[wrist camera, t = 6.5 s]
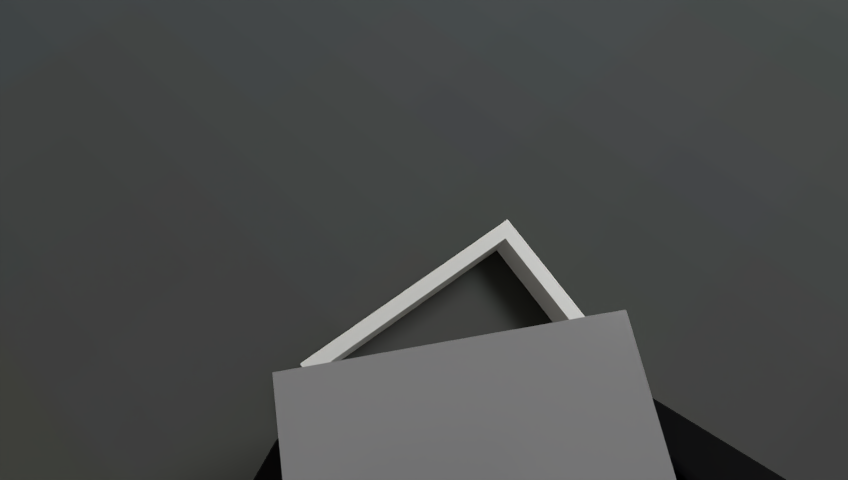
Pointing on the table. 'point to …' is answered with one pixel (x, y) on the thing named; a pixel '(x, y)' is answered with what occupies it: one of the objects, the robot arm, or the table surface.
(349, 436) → the cream grey rectangular block
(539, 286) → the square frame
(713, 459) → the robot arm
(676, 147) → the table surface
